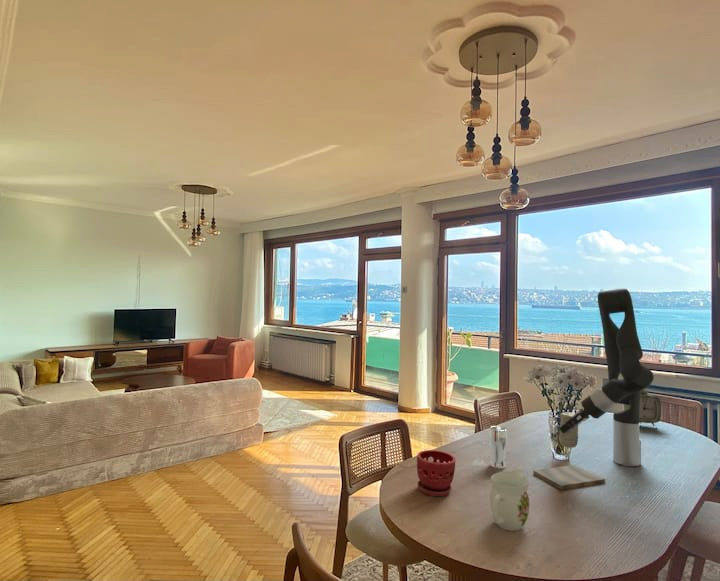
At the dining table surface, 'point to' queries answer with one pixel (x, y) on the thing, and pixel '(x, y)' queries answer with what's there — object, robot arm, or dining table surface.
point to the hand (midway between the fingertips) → (564, 428)
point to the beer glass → (498, 446)
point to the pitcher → (509, 499)
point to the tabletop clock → (648, 408)
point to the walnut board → (568, 477)
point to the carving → (571, 435)
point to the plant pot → (435, 472)
